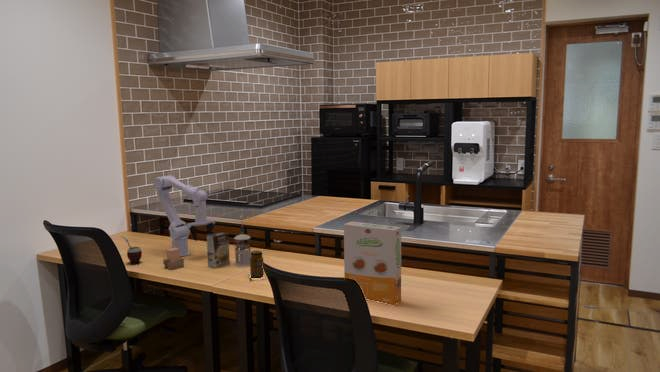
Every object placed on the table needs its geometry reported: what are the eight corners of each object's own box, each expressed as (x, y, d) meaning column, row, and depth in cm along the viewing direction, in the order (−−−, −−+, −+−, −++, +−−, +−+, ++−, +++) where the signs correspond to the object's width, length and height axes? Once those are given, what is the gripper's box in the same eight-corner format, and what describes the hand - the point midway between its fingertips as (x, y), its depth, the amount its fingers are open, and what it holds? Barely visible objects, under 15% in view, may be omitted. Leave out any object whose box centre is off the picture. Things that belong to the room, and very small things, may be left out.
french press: (239, 268, 252) (237, 218, 248) (228, 263, 261) (225, 215, 257) (257, 264, 258) (255, 215, 254) (245, 259, 267) (243, 212, 263)
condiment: (263, 274, 242) (262, 249, 240) (266, 279, 234) (265, 254, 232) (248, 275, 240) (247, 250, 239) (250, 281, 232) (249, 255, 230)
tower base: (164, 268, 256) (164, 263, 256) (178, 265, 261) (177, 260, 260) (170, 271, 251) (170, 266, 250) (183, 268, 255) (183, 263, 255)
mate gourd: (145, 262, 266) (143, 233, 264) (133, 266, 259) (131, 237, 256) (134, 260, 269) (132, 232, 267) (122, 264, 262) (120, 236, 260)
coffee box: (215, 268, 252) (214, 236, 250) (207, 266, 256) (205, 234, 254) (230, 264, 259) (228, 233, 257) (222, 262, 263) (220, 231, 261)
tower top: (163, 264, 255) (163, 259, 254) (175, 261, 260) (174, 256, 260) (172, 266, 250) (171, 261, 250) (183, 263, 256) (183, 258, 256)
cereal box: (401, 301, 204) (401, 227, 200) (394, 306, 199) (393, 230, 195) (352, 291, 217) (351, 221, 212) (344, 295, 211) (343, 224, 207)
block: (167, 259, 255) (166, 249, 254) (175, 257, 258) (174, 247, 257) (171, 260, 252) (170, 250, 251) (179, 258, 255) (179, 249, 254)
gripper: (190, 216, 261) (192, 242, 262) (216, 212, 270) (218, 238, 272) (185, 214, 266) (186, 240, 268) (210, 211, 275) (212, 235, 277)
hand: (202, 239), depth 270 cm, fingers open, 7 cm apart
